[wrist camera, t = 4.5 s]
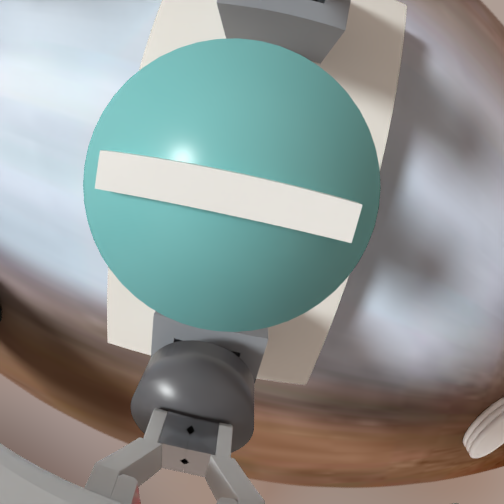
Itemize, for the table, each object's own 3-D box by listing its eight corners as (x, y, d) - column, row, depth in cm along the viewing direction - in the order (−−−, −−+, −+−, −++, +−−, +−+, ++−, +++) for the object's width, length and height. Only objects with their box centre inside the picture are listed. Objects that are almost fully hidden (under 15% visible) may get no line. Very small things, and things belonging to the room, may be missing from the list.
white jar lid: (463, 451, 29) (471, 467, 26) (458, 426, 27) (469, 445, 23) (514, 413, 27) (524, 427, 24) (516, 380, 25) (529, 396, 22)
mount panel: (190, -23, 14) (162, -89, 6) (389, 21, 15) (444, -27, 7) (122, 321, 22) (77, 386, 14) (301, 359, 22) (316, 438, 15)
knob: (172, 288, 15) (129, 363, 9) (263, 308, 16) (268, 394, 10) (164, 359, 17) (132, 440, 11) (244, 377, 17) (240, 464, 11)
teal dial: (191, 94, 10) (110, 24, 3) (324, 122, 10) (413, 84, 4) (165, 222, 11) (71, 301, 5) (292, 249, 11) (331, 359, 5)
